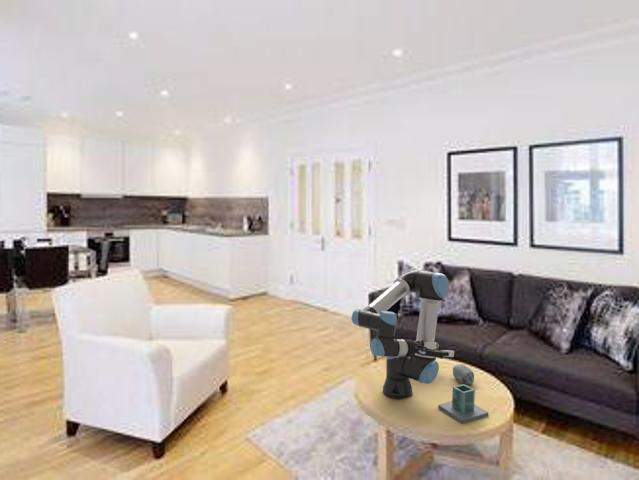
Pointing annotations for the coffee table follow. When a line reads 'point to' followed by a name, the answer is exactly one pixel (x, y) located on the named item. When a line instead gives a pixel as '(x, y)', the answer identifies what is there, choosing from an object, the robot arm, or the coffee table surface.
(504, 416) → the coffee table surface
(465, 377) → the grey rounded piece
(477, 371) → the coffee table surface
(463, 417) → the hub plate
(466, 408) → the sleeve
